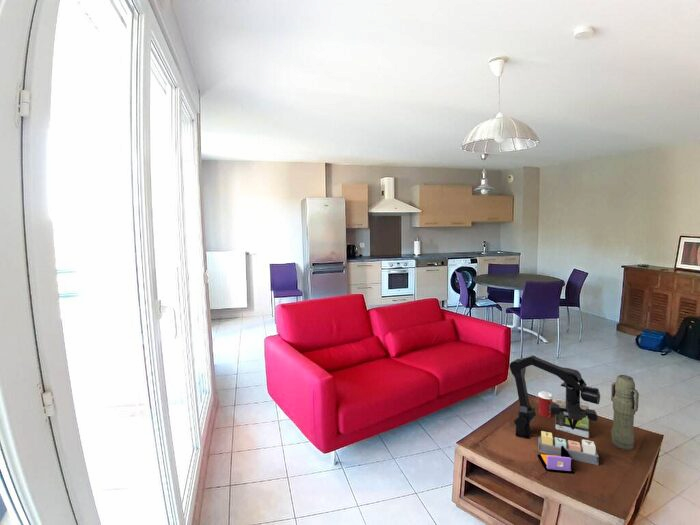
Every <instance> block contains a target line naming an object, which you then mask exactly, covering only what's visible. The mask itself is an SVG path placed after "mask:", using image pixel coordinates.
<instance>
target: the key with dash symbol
mask: <svg viewBox="0 0 700 525" xmlns="http://www.w3.org/2000/svg"><path fill="white" fill-rule="evenodd" d="M567 442H568V449H569V450H574V451H578V452H581V447H580V445H581V444H580V442H579V441H575V440H570V439H568V440H567Z"/></svg>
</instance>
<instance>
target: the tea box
mask: <svg viewBox="0 0 700 525" xmlns="http://www.w3.org/2000/svg"><path fill="white" fill-rule="evenodd" d="M555 404H559V407H561V408H566V398H565V399H564V398H560V397H556V398H555ZM580 408H581V409H584V410H585V409H590V408H589V403H587V402H582V401H580ZM572 423H573V419H572ZM555 430H557V431H561V432H565V433H569V434H573V435H575V436H578V437H579V436H580V437H583V438H587V439H589V438H590V420H589V419H588V418H587V416H586V418H582V420H579V421H578V422H577V424H576V426H575V428H574V430H572V429H571V426H570V423H569V421H568V419H567V418H566V417H564V414H563V412H560V414H558V415H557V414H555Z"/></svg>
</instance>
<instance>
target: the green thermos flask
mask: <svg viewBox="0 0 700 525" xmlns="http://www.w3.org/2000/svg"><path fill="white" fill-rule="evenodd" d="M610 396H611V397H610V398H611V399H610V401H612V409H613V420H612V421H613V422H612V428H611V434H610V437H611V444H612V445H613V446H615V447H617V448H619V449H622V450H626V451H627V450H628V451H631V450H633V449H634V444H635V434H634V433H635V432H634V421H635V420H634V419H635V415H636V412H638V410H639V409H638V408H639V396H640V394H639V391H638V390H637V389H636V383H635V380H634V378H633V377H632V376H629V375H626V374H620V375H617V377H616V379H615V382H612V383H611V395H610Z"/></svg>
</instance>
